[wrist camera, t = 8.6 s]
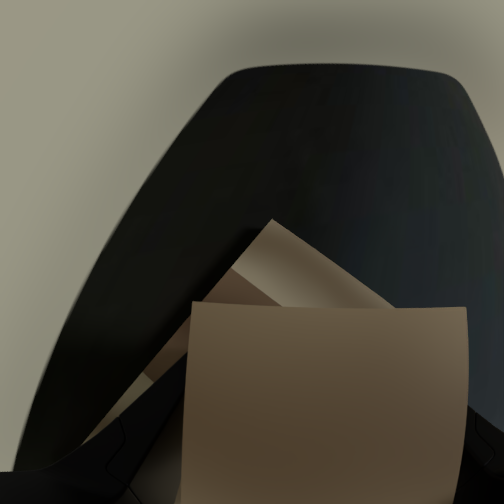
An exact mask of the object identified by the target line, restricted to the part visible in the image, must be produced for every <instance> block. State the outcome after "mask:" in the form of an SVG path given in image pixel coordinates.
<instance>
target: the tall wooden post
mask: <svg viewBox="0 0 504 504" xmlns="http://www.w3.org/2000/svg"><path fill="white" fill-rule="evenodd" d="M468 374H469V357H468V328H467V313H466V307H448V308H394V309H366V308H309V307H281V306H259V305H240V304H223V303H208V302H194V301H193V302H192V312H191V322H190V333H189V345H188V357H187V370H186V384H185V400H184V418H183V439H182V469H181V504H453V500H454V496H455V491H456V486H457V481H458V476H459V471H460V465H461V459H462V452H463V445H464V437H465V427H466V416H467V402H468Z"/></svg>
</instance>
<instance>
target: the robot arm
mask: <svg viewBox="0 0 504 504" xmlns="http://www.w3.org/2000/svg"><path fill="white" fill-rule="evenodd" d="M187 357H188V351H187V352H186V353H185V354H184V355H183V356H182V357H181V358H180V359H179V360H178V361H177V362H176V363H174V364H173V365H172V366H171V367H170V368H169V369H168V370H167V371H166V372H165V373H164V374H163V375H162V376H161V377H160V378H158V379H157V380H156V381H155V382H154V383H153V384H152V385H151V386H150V387H149V388H148V389H147V390H146V391H145V392H143V393H142V394H141V395H140V396H139V397H138V398H137V399H136V400H135V401H134V402H133V403H131V404H130V405H129V406H128V407H127V408H126V409H125V410H124V411H123V412H122V413H121V414H119V417H116V418H115V419H114V420H113V421H112V422H110V423H109V424H108V425H107V426H106V427H105V428H103V429H102V430H101V431H100V432H99V433H98V434H96V435H95V436H93V437H92V438H91V439H89V440H88V441H87V442H85V443H84V444H82V445H81V446H79V447H78V448H76V449H75V450H74V451H72V452H71V453H69V454H68V455H66V456H65V457H63V458H62V459H60V460H58V461H57V462H55V463H54V464H52V465H50V466H48V467H45V468H42V469H38V470H29V471H13V472H0V504H174V503H175V499H176V496H177V492H178V488H179V485H180V481H181V469H182V439H183V418H184V400H185V384H186V370H187ZM453 504H504V432H502V431H501V430H499V429H498V428H496V427H495V426H493V425H492V424H491V423H490V422H488V421H487V420H486V419H484V418H483V417H482V416H481V415H479V414H478V413H477V412H476V413H475V411H474V410H473V409H472V408H471V407H469V406H468V405H467V416H466V427H465V437H464V445H463V452H462V459H461V465H460V471H459V476H458V481H457V486H456V491H455V496H454V500H453Z"/></svg>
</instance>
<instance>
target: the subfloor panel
mask: <svg viewBox="0 0 504 504" xmlns="http://www.w3.org/2000/svg"><path fill="white" fill-rule="evenodd" d="M202 302H208V303H223V304H240V305H259V306H281V307H309V308H366V309H394V307H393V306H392V305H391V304H389V303H388V302H387V301H385V300H384V299H383V298H381V297H380V296H379V295H377V294H376V293H375V292H373V291H372V290H370V289H369V288H368V287H366V286H365V285H364V284H362V283H361V282H360V281H358V280H357V279H356V278H354V277H353V276H351V275H350V274H349V273H347V272H346V271H345V270H343V269H342V268H340V267H339V266H338V265H336V264H335V263H334V262H332V261H331V260H329V259H328V258H327V257H325V256H324V255H322V254H321V253H320V252H318V251H317V250H315V249H314V248H313V247H311V246H310V245H308V244H307V243H306V242H304V241H303V240H301V239H300V238H298V237H297V236H296V235H294V234H293V233H291V232H290V231H288V230H287V229H286V228H284V227H283V226H281V225H280V224H278V223H277V222H275V221H274V220H273V219H272V220H271V221H270V222H269V223H268V224H267V226H266V227H265V228H264V229H263V230H262V231H261V233H260V234H259V235H258V236H257V237H256V238H255V240H254V241H253V242H252V243H251V244H250V245H249V247H248V248H247V249H246V250H245V251H244V252H243V254H242V255H241V256H240V257H239V258H238V260H237V261H236V262H235V263H234V264H233V265H232V267H231V268H230V269H229V270H228V271H227V272H226V274H225V275H224V276H223V277H222V278H221V280H220V281H219V282H218V283H217V284H216V285H215V287H214V288H213V289H212V290H211V291H210V292H209V294H208V295H207V296H206V297H205V298H204V300H203V301H202ZM190 322H191V315H190V316H189V317H188V318H187V320H186V321H185V322H184V323H183V324H182V326H181V327H180V328H179V329H178V330H177V331H176V333H175V334H174V335H173V336H172V337H171V339H170V340H169V341H168V342H167V343H166V344H165V346H164V347H163V348H162V349H161V350H160V352H159V353H158V354H157V355H156V356H155V358H154V359H153V360H152V361H151V362H150V363H149V365H148V366H147V367H146V368H145V369H144V371H143V372H142V373H141V374H140V375H139V377H138V378H137V379H136V380H135V381H134V383H133V384H132V385H131V386H130V387H129V388H128V390H127V391H126V392H125V393H124V394H123V396H122V397H121V398H120V399H119V400H118V402H117V403H116V404H115V405H114V406H113V408H112V409H111V410H110V411H109V412H108V414H107V415H106V416H105V417H104V418H103V420H102V421H101V422H100V423H99V424H98V426H97V427H96V428H95V429H94V430H93V432H92V433H91V434H90V435H89V436H88V438H87V439H86V440H85V441H84V442H83V444H84V443H85V442H87V441H88V440H89V439H91V438H92V437H93V436H95V435H96V434H98V433H99V432H100V431H101V430H102V429H103V428H105V427H106V426H107V425H108V424H109V423H110V422H112V421H113V420H114V419H115V418H116V417H119V414H121V413H122V412H123V411H124V410H125V409H126V408H127V407H128V406H129V405H130V404H131V403H133V402H134V401H135V400H136V399H137V398H138V397H139V396H140V395H141V394H142V393H143V392H145V391H146V390H147V389H148V388H149V387H150V386H151V385H152V384H153V383H154V382H155V381H156V380H157V379H158V378H160V377H161V376H162V375H163V374H164V373H165V372H166V371H167V370H168V369H169V368H170V367H171V366H172V365H173V364H174V363H176V362H177V361H178V360H179V359H180V358H181V357H182V356H183V355H184V354H185V353H186V352H187V351H188V345H189V333H190ZM174 504H181V481H180V485H179V488H178V492H177V496H176V499H175V503H174Z"/></svg>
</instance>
